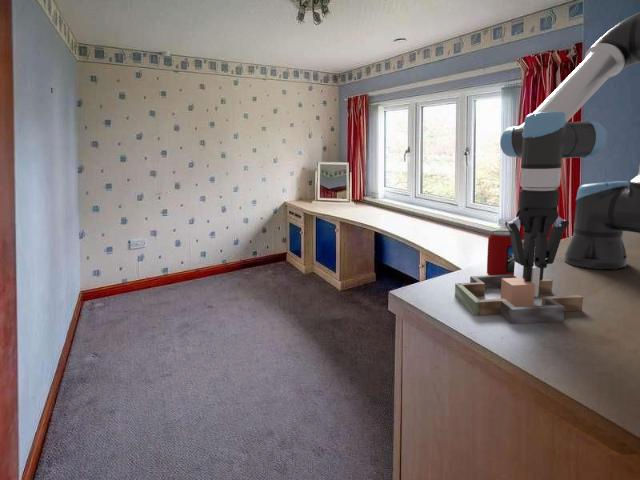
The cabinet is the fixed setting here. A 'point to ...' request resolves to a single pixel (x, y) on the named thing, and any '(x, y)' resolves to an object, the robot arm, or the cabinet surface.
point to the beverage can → (500, 254)
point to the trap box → (546, 312)
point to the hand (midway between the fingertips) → (531, 294)
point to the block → (518, 291)
